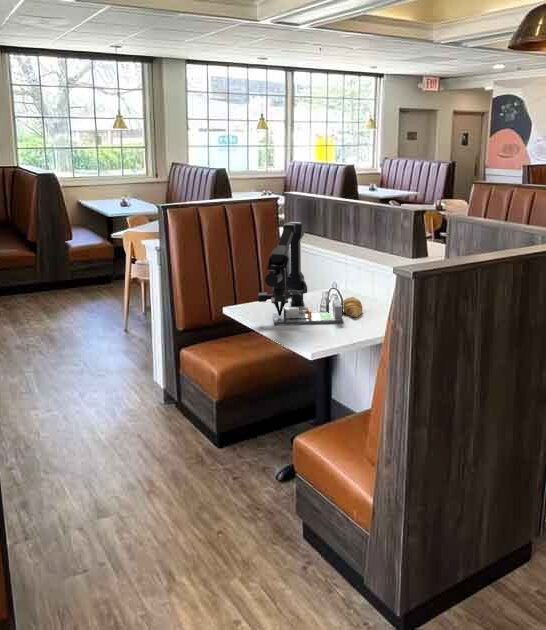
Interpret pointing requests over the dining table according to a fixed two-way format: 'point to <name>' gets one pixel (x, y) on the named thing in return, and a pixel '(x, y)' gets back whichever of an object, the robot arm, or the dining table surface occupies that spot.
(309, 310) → the bar
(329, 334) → the dining table surface
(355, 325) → the dining table surface
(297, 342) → the dining table surface
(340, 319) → the gauge board
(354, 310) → the croissant
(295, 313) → the threaded rod block
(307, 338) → the dining table surface
